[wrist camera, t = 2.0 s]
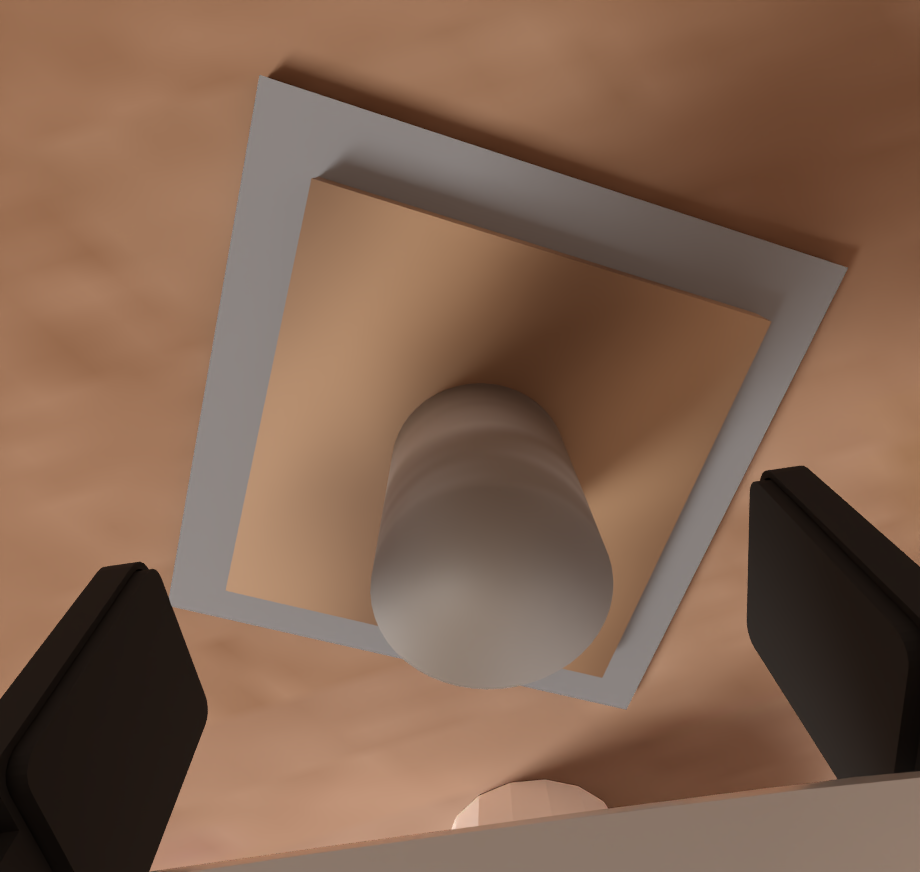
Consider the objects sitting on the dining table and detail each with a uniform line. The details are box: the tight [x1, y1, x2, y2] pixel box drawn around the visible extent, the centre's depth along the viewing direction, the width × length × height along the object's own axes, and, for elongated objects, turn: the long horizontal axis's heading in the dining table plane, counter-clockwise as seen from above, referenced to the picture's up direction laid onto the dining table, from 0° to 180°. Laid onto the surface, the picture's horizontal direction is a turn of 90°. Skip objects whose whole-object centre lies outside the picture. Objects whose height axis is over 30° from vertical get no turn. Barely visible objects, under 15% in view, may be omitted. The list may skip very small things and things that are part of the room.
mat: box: [169, 75, 848, 709], centre depth 17 cm, size 13×13×1 cm
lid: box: [226, 177, 771, 689], centre depth 14 cm, size 10×10×6 cm
